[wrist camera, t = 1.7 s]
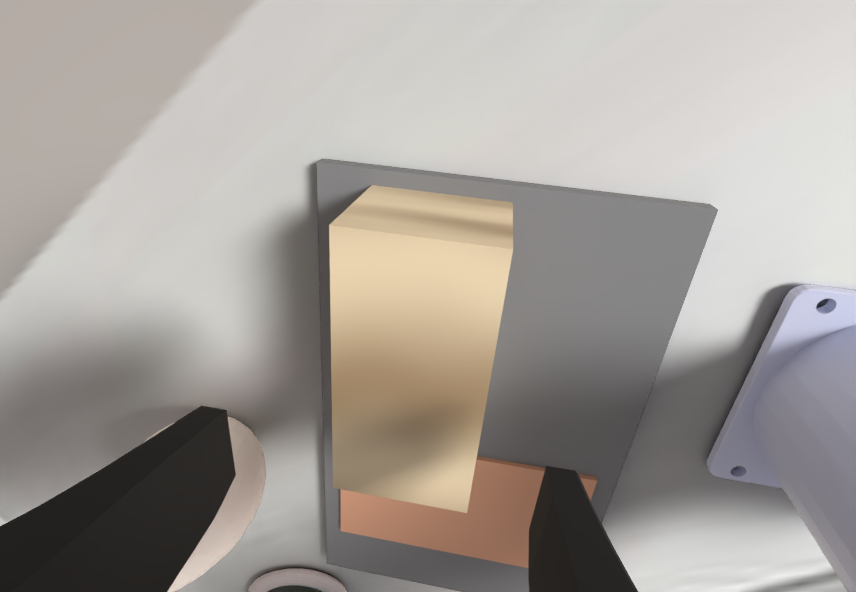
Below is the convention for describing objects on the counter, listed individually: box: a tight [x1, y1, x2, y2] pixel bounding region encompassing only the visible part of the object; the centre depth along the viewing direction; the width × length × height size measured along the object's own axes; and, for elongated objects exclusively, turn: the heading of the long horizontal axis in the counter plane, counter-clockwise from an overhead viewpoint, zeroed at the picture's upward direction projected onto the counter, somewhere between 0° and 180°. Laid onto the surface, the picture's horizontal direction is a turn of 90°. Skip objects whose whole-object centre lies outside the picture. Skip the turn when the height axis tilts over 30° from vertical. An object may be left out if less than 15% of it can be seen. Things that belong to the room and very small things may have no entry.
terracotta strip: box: [341, 456, 597, 568], centre depth 21 cm, size 10×6×1 cm, turn 85°
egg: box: [142, 416, 266, 592], centre depth 19 cm, size 5×5×7 cm
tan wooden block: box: [329, 185, 513, 513], centre depth 15 cm, size 9×4×4 cm, turn 175°
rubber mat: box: [316, 159, 718, 592], centre depth 19 cm, size 12×20×1 cm, turn 175°
